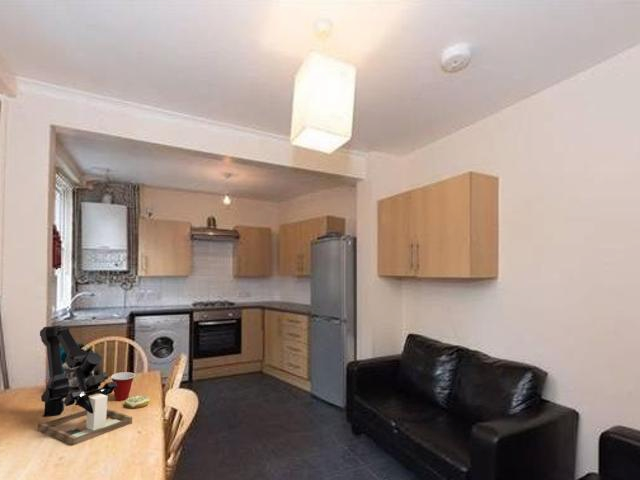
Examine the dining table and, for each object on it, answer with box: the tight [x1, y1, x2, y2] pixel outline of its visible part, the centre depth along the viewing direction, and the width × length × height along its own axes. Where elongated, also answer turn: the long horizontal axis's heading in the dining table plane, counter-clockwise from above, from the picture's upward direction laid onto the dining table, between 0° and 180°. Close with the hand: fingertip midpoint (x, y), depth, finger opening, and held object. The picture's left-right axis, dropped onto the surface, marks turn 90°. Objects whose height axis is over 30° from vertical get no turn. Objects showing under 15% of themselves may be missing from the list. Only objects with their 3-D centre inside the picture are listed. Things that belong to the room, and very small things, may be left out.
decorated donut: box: [124, 394, 150, 409], centre depth 178 cm, size 10×11×4 cm
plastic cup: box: [110, 371, 136, 402], centre depth 185 cm, size 11×11×12 cm
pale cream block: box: [85, 394, 109, 430], centre depth 150 cm, size 5×5×12 cm
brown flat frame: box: [37, 408, 133, 446], centre depth 153 cm, size 26×24×2 cm
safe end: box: [73, 419, 120, 437], centre depth 149 cm, size 8×21×1 cm, turn 151°
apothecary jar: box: [62, 361, 82, 395], centre depth 194 cm, size 12×12×18 cm
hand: (99, 410), depth 150 cm, fingers closed on pale cream block, 5 cm apart
